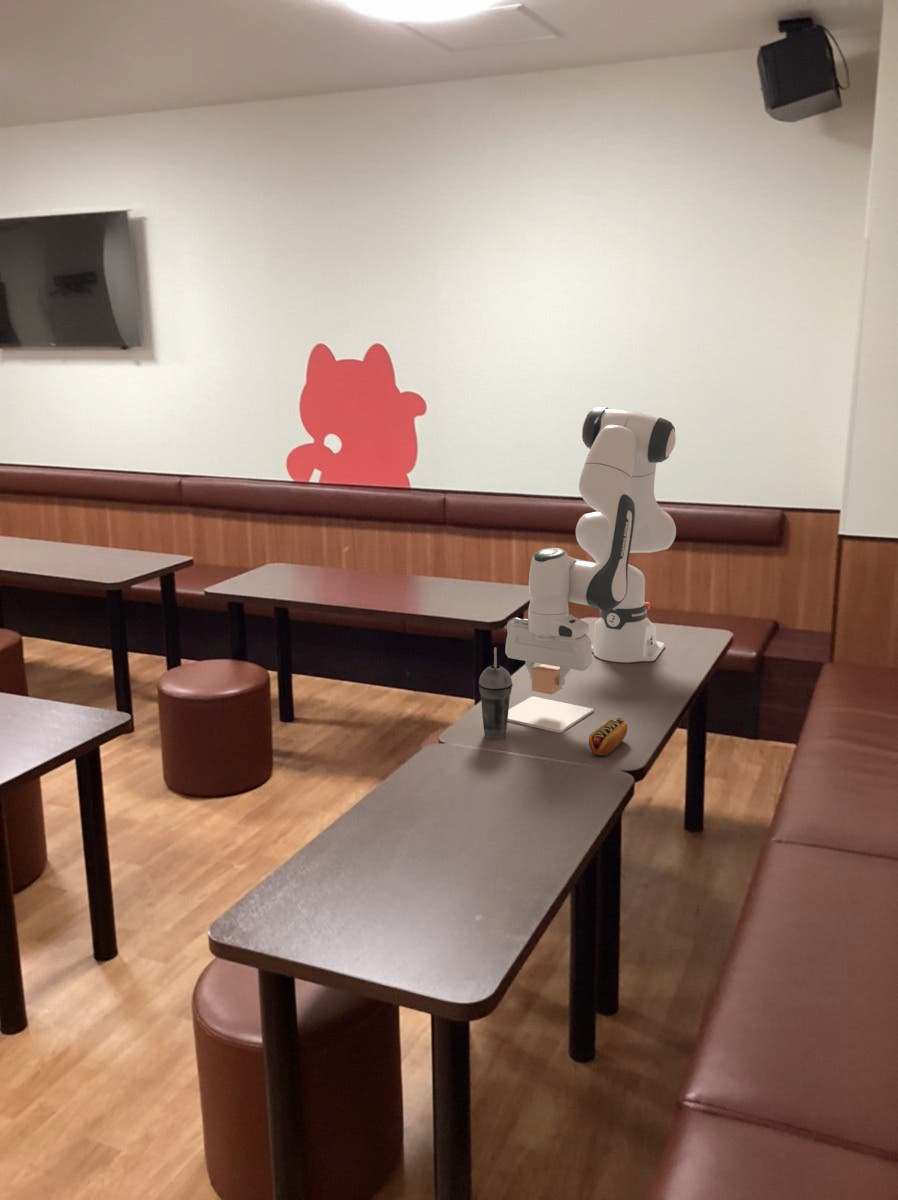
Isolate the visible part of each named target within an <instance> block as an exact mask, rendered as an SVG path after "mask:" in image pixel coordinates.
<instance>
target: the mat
mask: <svg viewBox="0 0 898 1200" xmlns="http://www.w3.org/2000/svg"><path fill="white" fill-rule="evenodd" d="M593 712H595V710H594V708H592V707H586V706H581V705H576V704H572V703H566V702H562V701H557V700H554V699H553V700H551V699H547V698H543V697H537V696H534V695H533V696H530V697H528V698H527V699H526V698H525V700H523V701H521V702H520V703H518V704H516V705H514V706H512V707H510V708H509V710H508V720H507V722H511V723H515V724H519V725H523V726H527V727H532V728H537V729H540V730H545V731H548V732H549V731H550V732H554V733H557V734H558V733H559V734H562V733H563V732H565V731H566V730H568V729H569V728H571V727H573V726H574V725H575V724H577V723H578V722H580V721H581V720H583V719H584V718H586V717H587V716H589V715H591V714H592V713H593Z"/></svg>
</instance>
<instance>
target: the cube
mask: <svg viewBox="0 0 898 1200" xmlns="http://www.w3.org/2000/svg"><path fill="white" fill-rule="evenodd" d="M534 667H535V666H534ZM561 674H562V672H560V667H557V666H551V665H546V664H539V665H537V666H536V667H535V668H534V669H532V680H531V692H536V693H542V694H545V695H550V696H551V695H552V696H553V694H555V693H557V692H559V691H561V690H562V689H563V686H558V685H556V684H555V683H556V681H555V678H556V677H558V676H560V675H561Z"/></svg>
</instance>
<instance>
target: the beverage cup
mask: <svg viewBox="0 0 898 1200" xmlns="http://www.w3.org/2000/svg"><path fill="white" fill-rule="evenodd" d="M497 650H498V649H497V647H494V648H493V655H494V656H493V665H490V666H487V667H486V668H485V669H484V670H483V671H482V673H481V674H480V676H479V679H478V684H477V685H478V689H479V694H480V701H481V713H482V723H483V725H482V727H483V731H484V733H483V734H484V738H486V739H488V740H494V741H495V740H496V741H497V740H503V739H505V738H506V735H507V734H506V733H507V729H508V721H507V720H508V710H509V709H510V708H509V707H510V701H511V700H510V698H511V694H512V688H513V685H514V684H513V681H512V677H511V674H510V673H509V671H508V670H507V669H506V668H505V667H503V666H501V665H497V664H498V663H497V661H498V659H497V658H498V657H497Z"/></svg>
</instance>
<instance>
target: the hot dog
mask: <svg viewBox="0 0 898 1200" xmlns="http://www.w3.org/2000/svg"><path fill="white" fill-rule="evenodd" d="M627 733H628V722H625V720H624V719H622V718H621V717H617V718H614V719H607V720H605V721H604V722H603V723H602V724H600V725H599V726H597V727H596V728H595V729H594V730H593V731H591V733H590V735H589V737H588V747H589V749H590V751H591V752H592V754H594V755H597V756H607V755H608V754H610V753H612V752H613V751H614V750H615V749H616V748H617V747H618V746H619V745H620V744H621V743H622V741H623V740H624V739H625V737H626V736H627Z"/></svg>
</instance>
